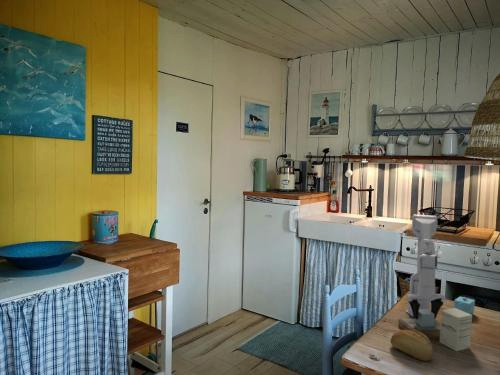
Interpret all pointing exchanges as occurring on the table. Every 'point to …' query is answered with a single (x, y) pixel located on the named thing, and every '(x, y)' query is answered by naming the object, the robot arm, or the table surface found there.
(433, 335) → the wooden tray
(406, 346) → the bread roll
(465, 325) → the supplement box
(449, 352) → the table surface
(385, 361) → the table surface
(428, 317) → the dusty blue block
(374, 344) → the table surface
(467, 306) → the light blue knobbed box
